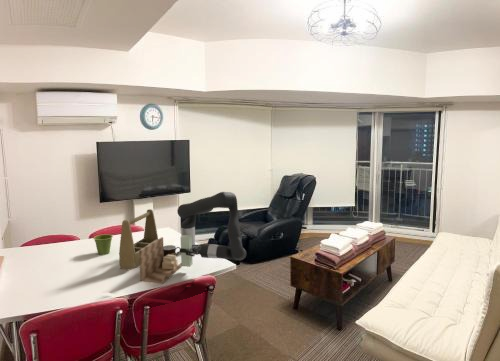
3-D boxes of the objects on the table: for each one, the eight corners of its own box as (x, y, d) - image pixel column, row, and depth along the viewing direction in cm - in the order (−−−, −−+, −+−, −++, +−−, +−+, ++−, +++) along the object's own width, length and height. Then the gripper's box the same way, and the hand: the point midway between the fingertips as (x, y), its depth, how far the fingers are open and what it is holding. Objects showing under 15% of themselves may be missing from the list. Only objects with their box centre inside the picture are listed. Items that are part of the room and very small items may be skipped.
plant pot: (100, 257, 209) (99, 240, 207) (91, 253, 216) (89, 237, 214) (117, 252, 218) (116, 236, 217) (107, 248, 225) (106, 233, 224)
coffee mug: (162, 266, 195) (161, 250, 194) (162, 261, 203) (161, 245, 202) (181, 264, 198) (181, 248, 197) (180, 259, 206) (180, 244, 205)
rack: (162, 265, 195) (161, 237, 193) (182, 267, 193) (181, 238, 190) (140, 283, 172) (139, 250, 170) (162, 285, 169) (161, 252, 167)
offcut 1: (168, 259, 194) (168, 254, 193) (176, 260, 192) (176, 255, 191) (163, 262, 189) (163, 257, 189) (171, 263, 187) (171, 258, 187)
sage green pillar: (184, 263, 186) (183, 234, 184) (192, 264, 185) (191, 235, 183) (181, 266, 182) (180, 236, 180) (189, 266, 181) (188, 237, 179)
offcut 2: (166, 264, 194) (166, 259, 194) (177, 265, 193) (177, 259, 193) (162, 268, 189) (162, 262, 188) (173, 269, 188) (173, 263, 187)
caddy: (135, 270, 189) (133, 220, 185) (119, 268, 191) (116, 219, 187) (159, 253, 217) (157, 209, 214) (144, 251, 220) (142, 208, 216)
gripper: (214, 240, 186) (186, 238, 190) (205, 248, 172) (176, 246, 176) (214, 253, 187) (187, 251, 191) (206, 262, 173) (176, 259, 177)
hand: (182, 249), depth 183 cm, fingers closed on sage green pillar, 4 cm apart
